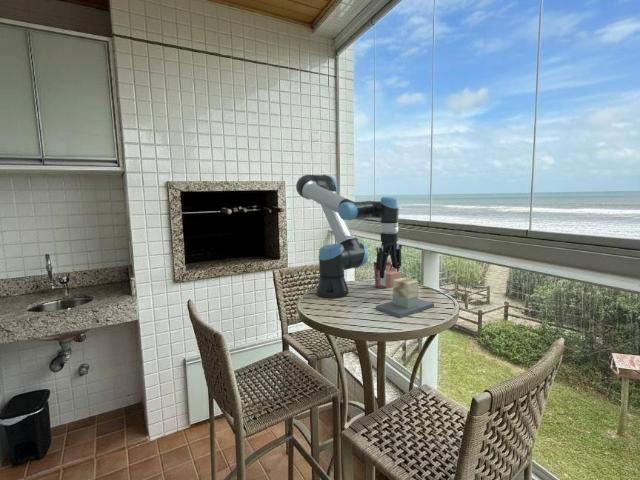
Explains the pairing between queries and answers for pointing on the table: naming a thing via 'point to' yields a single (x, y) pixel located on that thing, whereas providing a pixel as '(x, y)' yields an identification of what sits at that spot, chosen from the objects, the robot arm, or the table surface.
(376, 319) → the table surface
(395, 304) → the baseplate
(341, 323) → the table surface
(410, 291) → the maple brick
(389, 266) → the mug
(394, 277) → the terracotta brick
